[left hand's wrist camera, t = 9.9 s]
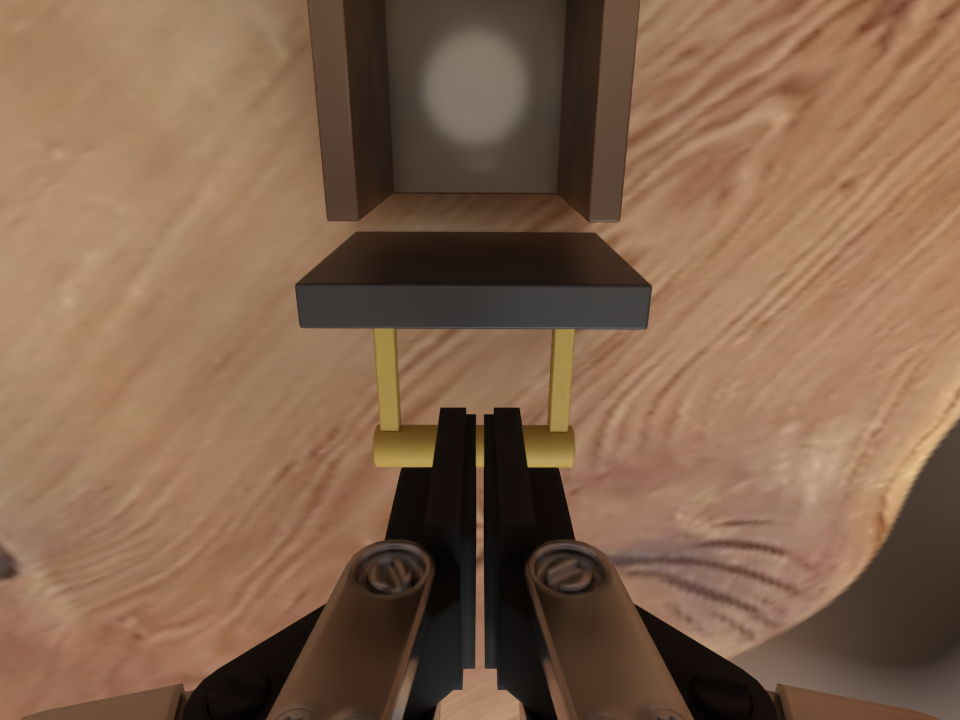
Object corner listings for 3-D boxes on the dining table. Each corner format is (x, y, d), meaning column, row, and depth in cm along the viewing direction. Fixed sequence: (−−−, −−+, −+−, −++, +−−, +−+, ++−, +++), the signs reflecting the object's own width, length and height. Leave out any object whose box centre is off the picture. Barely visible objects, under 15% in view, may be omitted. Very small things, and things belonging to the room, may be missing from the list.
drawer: (583, 392, 24) (627, 505, 17) (366, 391, 24) (319, 504, 17) (646, -419, 16) (788, -885, 8) (307, -420, 16) (158, -890, 8)
